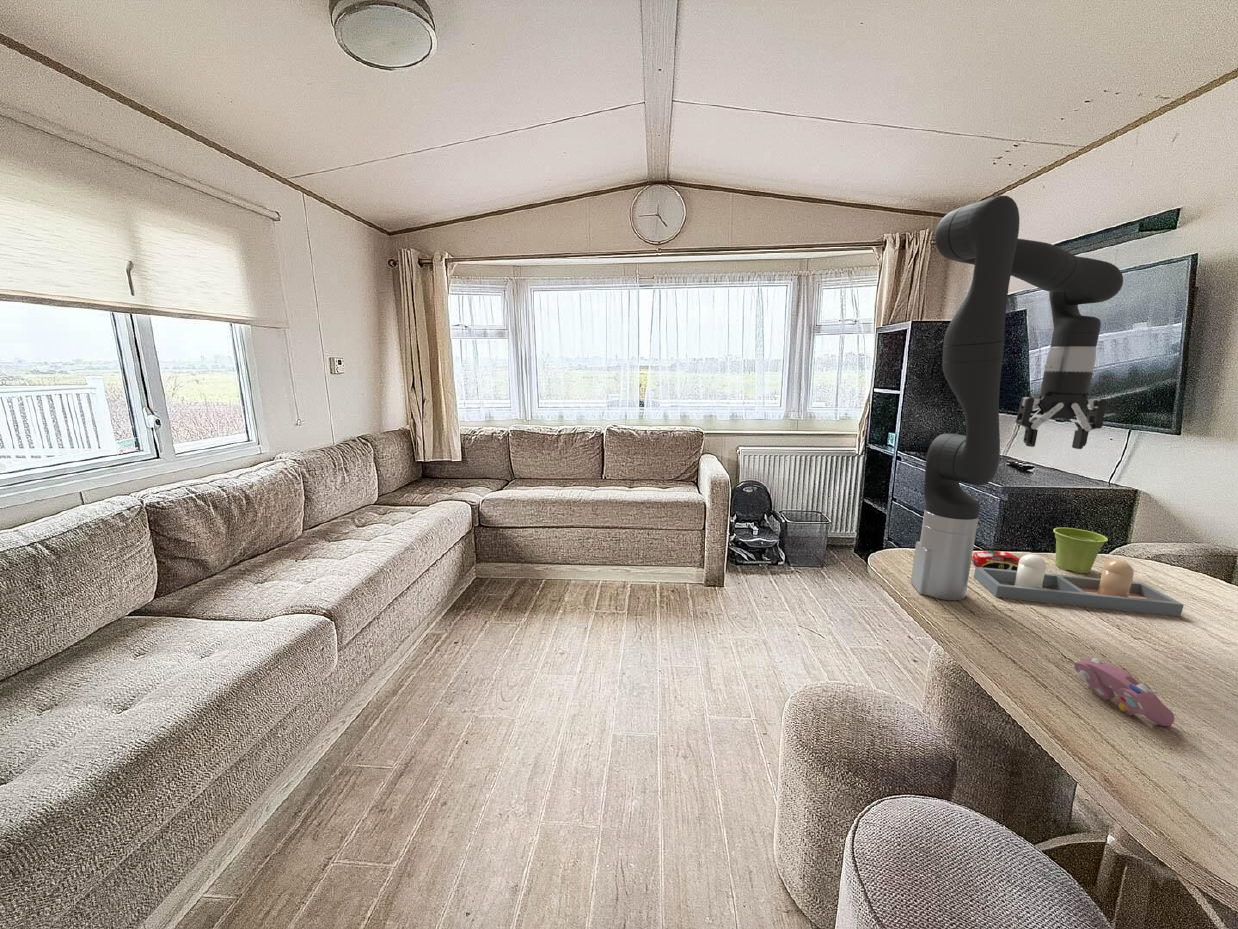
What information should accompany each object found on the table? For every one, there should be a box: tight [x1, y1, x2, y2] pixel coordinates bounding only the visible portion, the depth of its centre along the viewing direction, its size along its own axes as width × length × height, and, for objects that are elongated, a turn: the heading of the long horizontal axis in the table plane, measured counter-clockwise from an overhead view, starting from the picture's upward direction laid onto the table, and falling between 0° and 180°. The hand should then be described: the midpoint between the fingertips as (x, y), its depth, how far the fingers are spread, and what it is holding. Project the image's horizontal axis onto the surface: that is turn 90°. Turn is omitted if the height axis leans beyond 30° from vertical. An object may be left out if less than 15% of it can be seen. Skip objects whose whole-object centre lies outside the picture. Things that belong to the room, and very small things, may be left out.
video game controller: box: [1073, 657, 1176, 727], centre depth 68 cm, size 10×5×7 cm, turn 6°
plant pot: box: [1052, 527, 1109, 574], centre depth 115 cm, size 9×9×9 cm
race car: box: [971, 550, 1021, 571], centre depth 115 cm, size 13×5×4 cm, turn 67°
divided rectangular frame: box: [973, 566, 1184, 618], centre depth 102 cm, size 31×10×2 cm, turn 76°
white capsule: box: [1013, 553, 1047, 589], centre depth 103 cm, size 4×4×8 cm
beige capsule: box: [1097, 559, 1135, 597], centre depth 100 cm, size 4×4×8 cm
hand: (1053, 447), depth 104 cm, fingers open, 8 cm apart
